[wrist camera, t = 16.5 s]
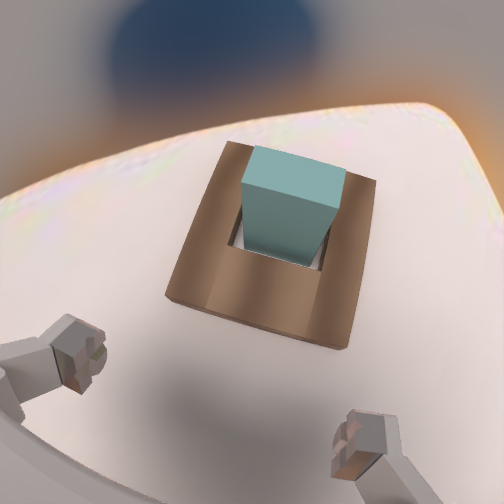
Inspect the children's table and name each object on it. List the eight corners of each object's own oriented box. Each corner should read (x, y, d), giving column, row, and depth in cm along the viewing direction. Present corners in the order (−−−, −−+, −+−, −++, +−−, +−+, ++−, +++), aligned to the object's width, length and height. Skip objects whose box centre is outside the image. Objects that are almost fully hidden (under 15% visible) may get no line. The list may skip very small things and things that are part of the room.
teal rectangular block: (315, 237, 30) (346, 169, 20) (308, 266, 29) (338, 208, 19) (253, 220, 30) (255, 145, 20) (244, 248, 29) (240, 181, 19)
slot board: (368, 193, 32) (376, 180, 29) (338, 350, 26) (346, 347, 24) (228, 155, 33) (227, 140, 31) (171, 301, 28) (164, 294, 25)
